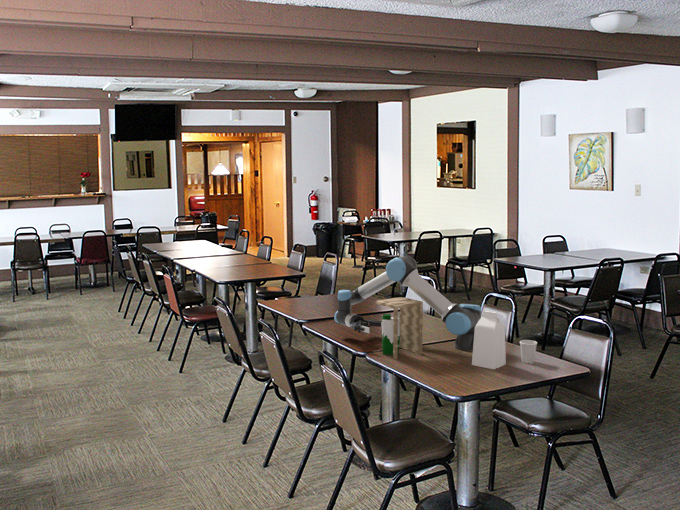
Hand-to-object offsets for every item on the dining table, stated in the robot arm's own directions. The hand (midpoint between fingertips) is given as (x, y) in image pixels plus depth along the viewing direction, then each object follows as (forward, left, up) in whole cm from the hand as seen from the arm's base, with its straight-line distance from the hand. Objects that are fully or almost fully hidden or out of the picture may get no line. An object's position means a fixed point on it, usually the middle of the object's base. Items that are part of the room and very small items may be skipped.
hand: (379, 328), depth 364 cm
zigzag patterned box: (-12, +1, -11) cm, 16 cm away
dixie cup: (-72, -21, -11) cm, 76 cm away
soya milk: (-9, +3, -11) cm, 15 cm away
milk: (-58, -6, -11) cm, 60 cm away
